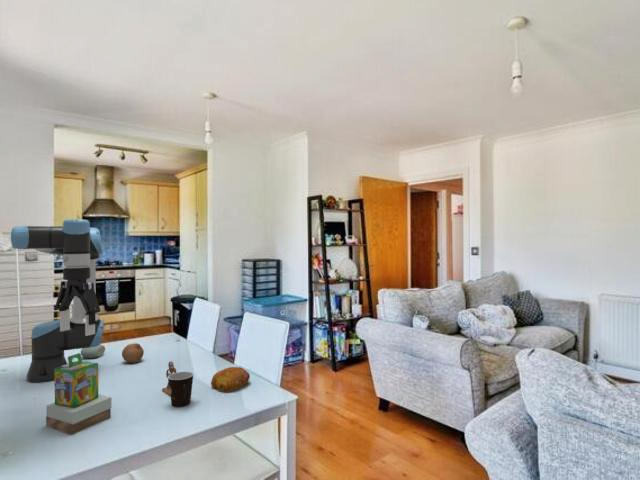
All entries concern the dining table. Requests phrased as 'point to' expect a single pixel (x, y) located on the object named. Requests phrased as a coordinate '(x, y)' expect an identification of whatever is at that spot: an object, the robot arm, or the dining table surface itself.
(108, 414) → the walnut base slab
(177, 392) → the coffee mug
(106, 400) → the grey-green top slab
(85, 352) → the grey rounded lump
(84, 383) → the chalk box
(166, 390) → the brown scrollwork ornament
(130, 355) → the onion
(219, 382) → the potato
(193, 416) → the dining table surface
